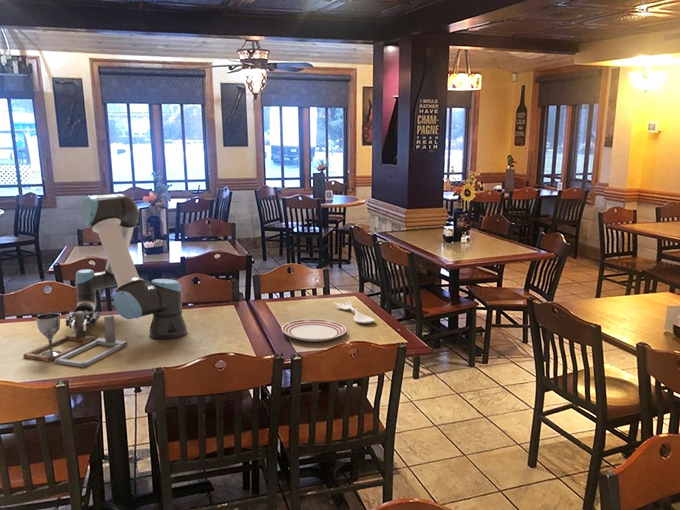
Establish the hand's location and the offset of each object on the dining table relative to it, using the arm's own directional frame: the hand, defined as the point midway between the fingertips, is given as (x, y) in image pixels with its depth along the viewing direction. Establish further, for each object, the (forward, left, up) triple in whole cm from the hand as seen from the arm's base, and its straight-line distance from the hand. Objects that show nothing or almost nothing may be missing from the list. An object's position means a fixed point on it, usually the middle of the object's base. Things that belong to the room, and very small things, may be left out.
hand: (78, 328), depth 229 cm
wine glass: (+3, +11, -7) cm, 14 cm away
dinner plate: (-83, -44, -7) cm, 94 cm away
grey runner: (-11, +6, -7) cm, 15 cm away
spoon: (-92, -75, -7) cm, 119 cm away
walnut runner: (+3, +6, -7) cm, 10 cm away
